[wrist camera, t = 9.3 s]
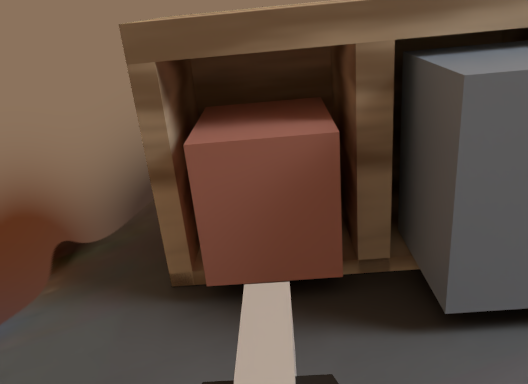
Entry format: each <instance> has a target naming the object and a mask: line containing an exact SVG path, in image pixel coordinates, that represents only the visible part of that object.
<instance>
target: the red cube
mask: <svg viewBox="0 0 528 384" xmlns="http://www.w3.org/2000/svg"><path fill="white" fill-rule="evenodd" d="M183 146H184V152H185V158H186V164H187V170H188V176H189V182H190V188H191V194H192V200H193V206H194V212H195V218H196V224H197V230H198V236H199V242H200V248H201V254H202V260H203V266H204V272H205V278H206V284H207V286H219V285H234V284H248V283H262V282H276V281H291V280H305V279H319V278H333V277H343V256H342V217H341V178H340V139H339V130H338V129H337V127H336V125H335V123H334V121H333V119H332V117H331V115H330V114H329V112H328V110H327V108H326V106H325V104H324V102H323V101H322V99H321V97H314V98H303V99H292V100H280V101H269V102H257V103H246V104H235V105H223V106H212V107H206V108H205V109H204V111H203V113H202V114H201V116H200V118H199V119H198V121H197V123H196V125H195V126H194V128H193V130H192V131H191V133H190V135H189V136H188V138H187V140H186V142H185V143H184V145H183Z"/></svg>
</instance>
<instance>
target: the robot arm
mask: <svg viewBox="0 0 528 384" xmlns="http://www.w3.org/2000/svg"><path fill="white" fill-rule="evenodd" d="M202 384H338V382H337V381H336V379H335V378H334V376H333V375H332V374H329V375H309V376H296V360H295V344H294V331H293V319H292V306H291V293H290V282H276V283H260V284H244V290H243V300H242V309H241V319H240V328H239V337H238V347H237V356H236V366H235V375H234V381H215V382H203V383H202Z"/></svg>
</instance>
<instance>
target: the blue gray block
mask: <svg viewBox="0 0 528 384" xmlns="http://www.w3.org/2000/svg"><path fill="white" fill-rule="evenodd" d="M398 231H399V233H400V234H401V236H402V238H403V240H404V242H405V243H406V245H407V247H408V249H409V250H410V252H411V254H412V256H413V258H414V259H415V261H416V263H417V265H418V266H419V268H420V270H421V272H422V274H423V275H424V277H425V279H426V281H427V282H428V284H429V286H430V288H431V290H432V291H433V293H434V295H435V297H436V298H437V300H438V302H439V304H440V306H441V307H442V309H443V311H444V313H445V314H451V313H466V312H481V311H496V310H512V309H527V308H528V40H524V41H514V42H503V43H492V44H481V45H470V46H459V47H448V48H437V49H426V50H415V51H404V52H403V65H402V100H401V135H400V170H399V204H398Z"/></svg>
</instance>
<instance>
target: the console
mask: <svg viewBox="0 0 528 384" xmlns="http://www.w3.org/2000/svg"><path fill="white" fill-rule="evenodd" d="M119 28H120V33H121V38H122V43H123V48H124V53H125V58H126V63H127V68H128V73H129V77H130V83H131V88H132V92H133V97H134V102H135V107H136V112H137V117H138V122H139V127H140V132H141V137H142V141H143V147H144V152H145V157H146V162H147V167H148V172H149V176H150V181H151V186H152V191H153V196H154V201H155V206H156V211H157V216H158V221H159V226H160V231H161V236H162V241H163V246H164V251H165V255H166V260H167V265H168V270H169V275H170V280H171V285H172V287H174V286H188V285H202V284H206V278H205V272H204V266H203V260H202V254H201V248H200V242H199V236H198V230H197V224H196V218H195V212H194V206H193V200H192V194H191V188H190V182H189V176H188V170H187V164H186V158H185V152H184V146H183V145H184V143H185V142H186V140H187V138H188V136H189V135H190V133H191V131H192V130H193V128H194V126H195V125H196V123H197V121H198V119H199V118H200V116H201V114H202V113H203V111H204V109H205V108H206V107H212V106H223V105H235V104H246V103H257V102H269V101H280V100H292V99H303V98H314V97H321V99H322V101H323V102H324V104H325V106H326V108H327V110H328V112H329V114H330V115H331V117H332V119H333V121H334V123H335V125H336V127H337V129H338V130H339V139H340V178H341V217H342V256H343V275H344V274H359V273H373V272H387V271H401V270H415V269H420V268H419V266H418V265H417V263H416V261H415V259H414V258H413V256H412V254H411V252H410V250H409V249H408V247H407V245H406V243H405V242H404V240H403V238H402V236H401V234H400V233H399V231H398V204H399V170H400V135H401V100H402V65H403V52H404V51H415V50H426V49H437V48H448V47H459V46H470V45H481V44H492V43H503V42H514V41H524V40H528V0H333V1H323V2H312V3H303V4H292V5H281V6H271V7H261V8H251V9H240V10H230V11H220V12H210V13H199V14H190V15H179V16H168V17H162V18H156V19H149V20H143V21H137V22H131V23H125V24H119Z"/></svg>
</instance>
